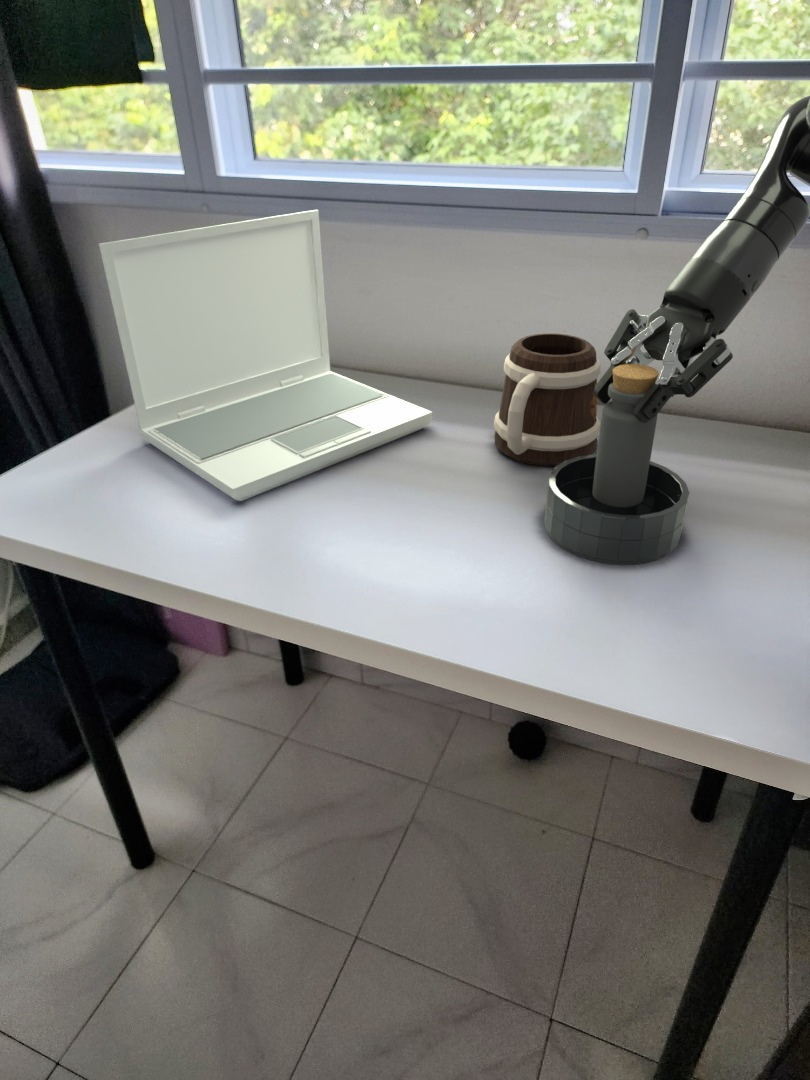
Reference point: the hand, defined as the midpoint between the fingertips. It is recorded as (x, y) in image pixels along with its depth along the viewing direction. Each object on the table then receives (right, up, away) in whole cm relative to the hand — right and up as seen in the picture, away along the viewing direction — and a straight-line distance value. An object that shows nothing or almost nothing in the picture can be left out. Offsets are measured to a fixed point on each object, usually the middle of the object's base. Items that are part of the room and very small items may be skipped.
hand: (618, 408), depth 80 cm
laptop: (-40, +1, +33) cm, 52 cm away
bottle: (+2, -9, +7) cm, 12 cm away
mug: (-4, -2, +27) cm, 27 cm away
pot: (+2, -13, +9) cm, 16 cm away
